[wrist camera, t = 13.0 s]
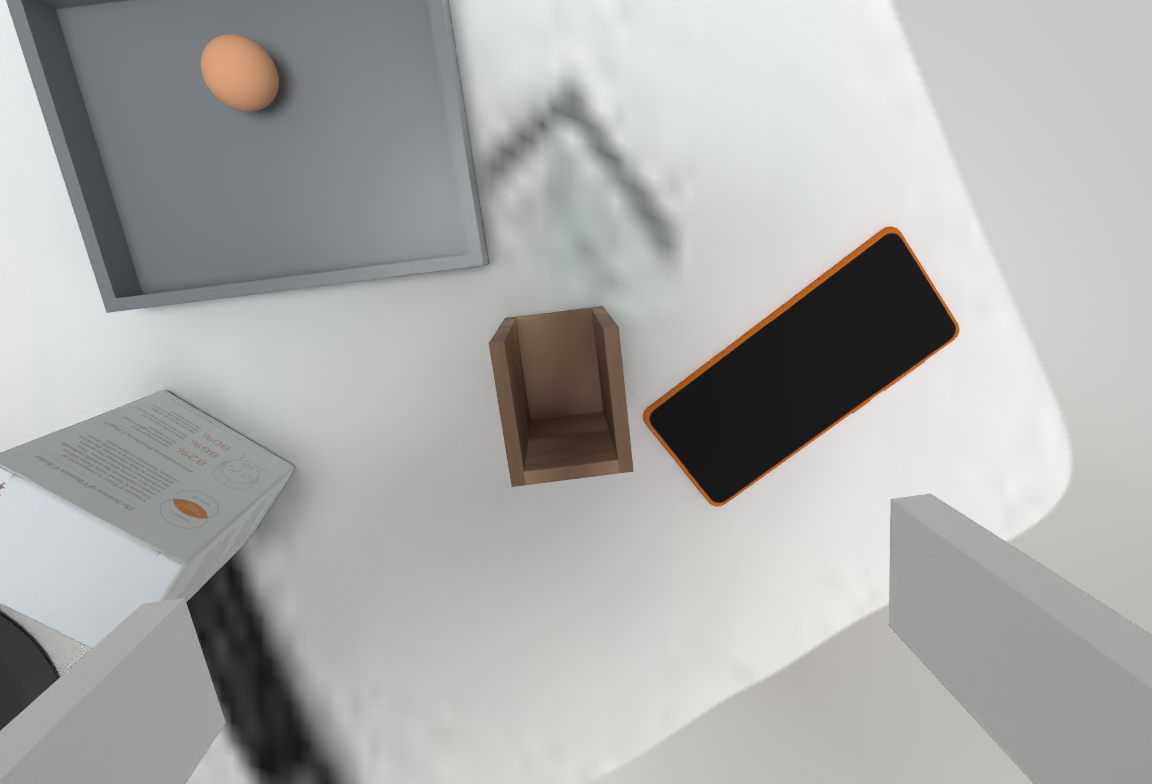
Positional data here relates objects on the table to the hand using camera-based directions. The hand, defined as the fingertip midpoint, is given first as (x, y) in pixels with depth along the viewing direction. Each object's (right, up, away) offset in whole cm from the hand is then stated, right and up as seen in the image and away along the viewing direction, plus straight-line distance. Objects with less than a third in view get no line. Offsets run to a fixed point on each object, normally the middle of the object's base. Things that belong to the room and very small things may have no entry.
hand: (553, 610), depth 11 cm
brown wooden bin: (0, +5, +21) cm, 22 cm away
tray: (-14, +16, +18) cm, 28 cm away
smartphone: (+13, +5, +22) cm, 26 cm away
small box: (-20, 0, +22) cm, 29 cm away
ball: (-14, +20, +15) cm, 29 cm away
